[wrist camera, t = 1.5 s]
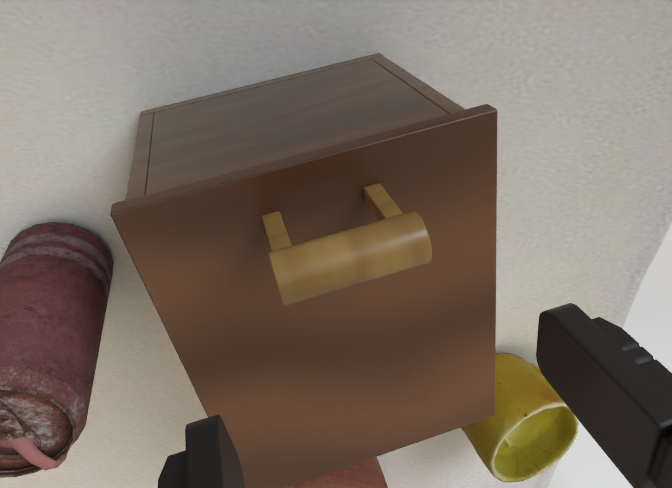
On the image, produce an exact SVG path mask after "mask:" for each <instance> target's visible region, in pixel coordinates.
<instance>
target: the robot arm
mask: <svg viewBox="0 0 672 488" xmlns="http://www.w3.org/2000/svg"><path fill="white" fill-rule="evenodd" d="M536 357H537V362H538V366H539V368H540V371H541V373H542V374H543V376H544V378H545V379H546V380H547V382H548V383H549V384H550V385H551V387H552V388H553V389H554V390H555V392H556V393H557V394H558V395H559V396H560V398H561V399H562V400H563V401H564V403H565V404H566V405H567V406H568V408H569V409H570V410H571V411H572V412H573V414H574V415H575V416H576V417H577V419H578V420H579V421H580V422H581V423H582V425H583V426H584V427H585V428H586V430H587V431H588V432H589V433H590V435H591V436H592V437H593V438H594V439H595V441H596V442H597V443H598V445H599V446H600V447H601V448H602V449H603V451H604V452H605V453H606V454H607V456H608V457H609V458H610V459H611V460H612V462H613V463H614V464H615V465H616V467H617V468H618V469H619V470H620V472H621V473H622V474H623V475H624V477H625V478H626V479H627V480H628V482H629V483H630V484H631V485H632V486H633V487H634V488H672V373H671V372H669V371H668V370H667V369H666V368H665V367H664V366H663V365H662V364H661V363H660V362H658V361H657V360H654V359H653V356H652V355H651V354H650V353H649V352H647V351H646V350H645V349H644V348H643V347H640V346H639V343H638V342H636V341H635V340H634V339H633V338H632V337H631V336H630V335H629V334H628V333H627V332H625V331H624V330H623V329H622V328H620V327H618V326H616V325H614V324H612V323H610V322H608V321H606V320H604V319H602V318H600V317H598V318H595V319H590V318H589V317H588V316H587V315H586V314H585V313H584V312H583V311H582V310H581V309H580V308H579V307H578V306H576V305H575V304H572V303H569V304H566V305H562V306H559V307H556V308H553V309H550V310H547V311H544V312H542V313H541V314H540V316H539V326H538V339H537V352H536ZM185 435H186V451H183V452H180V453H177V454H174V455H170V456H168V458H167V460H166V463H165V465H164V467H163V470H162V472H161V474H160V477H159V479H158V488H245V485H244V477H243V472H242V467H241V463H240V460H239V457H238V454H237V451H236V449H235V447H234V445H233V442H232V440H231V438H230V436H229V433H228V431H227V429H226V427H225V424H224V422H223V420H222V418H221V416H220V415H219V414H218V415H215V416H211V417H208V418H205V419H202V420H199V421H196V422H193V423H190V424H187V425H186V430H185Z"/></svg>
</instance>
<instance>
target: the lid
mask: <svg viewBox="0 0 672 488" xmlns="http://www.w3.org/2000/svg"><path fill="white" fill-rule="evenodd" d="M496 196H497V109H495V108H493V107H492V106H490V105H488V104H485V105H481V106H478V107H474V108H470V109H466V110H463V111H459V112H455V113H451V114H448V115H444V116H440V117H436V118H433V119H429V120H425V121H421V122H418V123H414V124H410V125H406V126H403V127H399V128H395V129H391V130H388V131H384V132H380V133H376V134H373V135H369V136H365V137H361V138H358V139H354V140H350V141H346V142H343V143H339V144H335V145H331V146H328V147H324V148H320V149H316V150H313V151H309V152H305V153H301V154H298V155H294V156H290V157H286V158H283V159H279V160H275V161H271V162H268V163H264V164H260V165H256V166H253V167H249V168H245V169H241V170H238V171H234V172H230V173H226V174H223V175H219V176H215V177H211V178H208V179H204V180H200V181H197V182H193V183H189V184H185V185H182V186H178V187H174V188H170V189H167V190H163V191H159V192H155V193H152V194H148V195H144V196H140V197H137V198H133V199H129V200H125V201H122V202H118V203H114V204H112V208H111V213H110V215H111V217H112V219H113V221H114V223H115V225H116V227H117V229H118V231H119V233H120V235H121V237H122V240H123V242H124V244H125V246H126V248H127V250H128V252H129V254H130V256H131V258H132V260H133V262H134V264H135V267H136V269H137V271H138V273H139V275H140V277H141V279H142V281H143V283H144V285H145V287H146V289H147V291H148V294H149V296H150V298H151V300H152V302H153V304H154V306H155V308H156V310H157V312H158V314H159V316H160V318H161V321H162V323H163V325H164V327H165V329H166V331H167V333H168V335H169V337H170V339H171V341H172V343H173V345H174V348H175V350H176V352H177V354H178V356H179V358H180V360H181V362H182V364H183V366H184V368H185V370H186V372H187V375H188V377H189V379H190V381H191V383H192V385H193V387H194V389H195V391H196V393H197V395H198V397H199V399H200V402H201V404H202V406H203V408H204V410H205V412H206V414H207V416H208V417H211V416H215V415H218V414H219V415H220V416H221V418H222V420H223V422H224V424H225V427H226V429H227V431H228V433H229V436H230V438H231V440H232V442H233V445H234V447H235V449H236V451H237V454H238V457H239V460H240V463H241V467H242V472H243V477H244V485H245V488H287V487H290V486H293V485H296V484H299V483H302V482H305V481H307V480H310V479H313V478H316V477H319V476H322V475H325V474H328V473H330V472H333V471H336V470H339V469H342V468H345V467H348V466H351V465H353V464H356V463H359V462H362V461H365V460H368V459H371V458H374V457H376V456H379V455H382V454H385V453H388V452H391V451H394V450H397V449H399V448H402V447H405V446H408V445H411V444H414V443H417V442H420V441H422V440H425V439H428V438H431V437H434V436H437V435H440V434H443V433H445V432H448V431H451V430H454V429H457V428H460V427H463V426H466V425H469V424H471V423H474V422H477V421H480V420H483V419H486V418H489V417H492V416H494V415H495V329H496Z"/></svg>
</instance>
